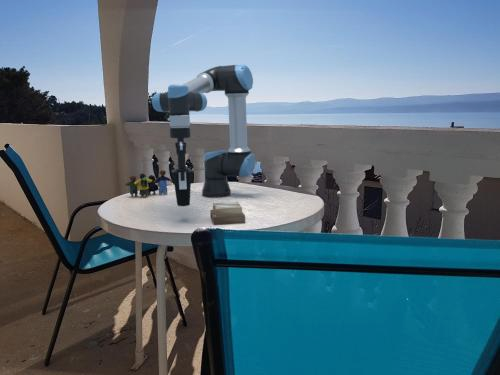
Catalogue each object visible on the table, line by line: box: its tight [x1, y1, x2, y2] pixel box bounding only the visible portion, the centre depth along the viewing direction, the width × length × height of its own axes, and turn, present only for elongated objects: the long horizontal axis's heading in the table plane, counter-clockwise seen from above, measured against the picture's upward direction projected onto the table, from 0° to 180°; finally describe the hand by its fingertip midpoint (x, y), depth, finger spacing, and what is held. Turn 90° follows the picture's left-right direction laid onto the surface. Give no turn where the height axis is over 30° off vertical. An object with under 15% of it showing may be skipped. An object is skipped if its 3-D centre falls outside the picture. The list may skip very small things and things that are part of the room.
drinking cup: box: [171, 167, 193, 207], centre depth 143 cm, size 8×8×20 cm
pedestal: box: [209, 201, 246, 226], centre depth 146 cm, size 12×12×6 cm
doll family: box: [125, 169, 173, 199], centre depth 192 cm, size 23×9×13 cm, turn 132°
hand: (182, 187), depth 143 cm, fingers closed on drinking cup, 7 cm apart
